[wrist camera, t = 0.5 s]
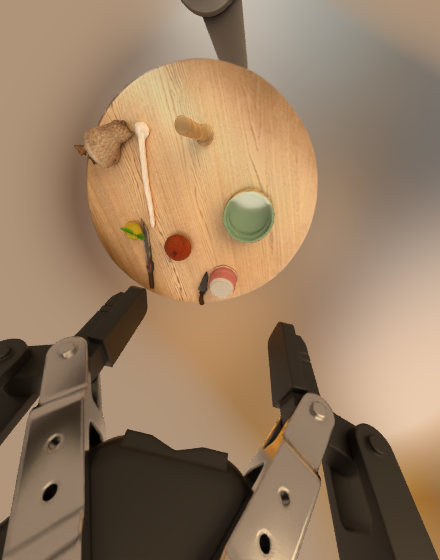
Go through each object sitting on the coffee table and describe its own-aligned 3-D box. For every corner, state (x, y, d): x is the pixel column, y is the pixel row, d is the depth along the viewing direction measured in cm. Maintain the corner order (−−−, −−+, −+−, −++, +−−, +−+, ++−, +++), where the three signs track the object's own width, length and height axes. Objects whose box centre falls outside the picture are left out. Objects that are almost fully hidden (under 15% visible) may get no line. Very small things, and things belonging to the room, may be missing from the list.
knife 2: (203, 307, 79) (192, 303, 78) (203, 303, 80) (193, 299, 80) (217, 277, 70) (205, 273, 69) (217, 274, 72) (205, 270, 71)
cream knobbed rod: (162, 227, 63) (159, 230, 61) (151, 226, 64) (147, 229, 61) (150, 122, 48) (145, 120, 46) (135, 121, 48) (129, 119, 46)
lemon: (118, 221, 62) (121, 231, 55) (135, 215, 64) (140, 224, 57) (127, 238, 67) (131, 249, 60) (143, 232, 68) (148, 243, 61)
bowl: (232, 182, 52) (230, 184, 48) (280, 196, 52) (283, 199, 48) (221, 229, 61) (218, 235, 56) (262, 241, 61) (263, 248, 56)
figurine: (101, 157, 56) (140, 131, 52) (105, 183, 54) (146, 158, 50) (69, 130, 48) (112, 97, 44) (72, 160, 45) (118, 128, 42)
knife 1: (141, 216, 63) (149, 286, 80) (139, 218, 61) (147, 288, 78) (149, 217, 63) (156, 287, 80) (147, 219, 61) (154, 289, 78)
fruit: (198, 248, 66) (191, 258, 59) (179, 258, 69) (171, 268, 63) (183, 226, 62) (175, 235, 56) (165, 238, 66) (154, 247, 59)
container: (227, 273, 60) (229, 261, 66) (200, 283, 64) (205, 271, 70) (240, 296, 65) (241, 283, 71) (215, 304, 69) (218, 290, 75)
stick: (198, 122, 46) (171, 105, 32) (214, 127, 46) (195, 112, 31) (195, 143, 49) (169, 137, 34) (211, 147, 49) (192, 143, 34)
